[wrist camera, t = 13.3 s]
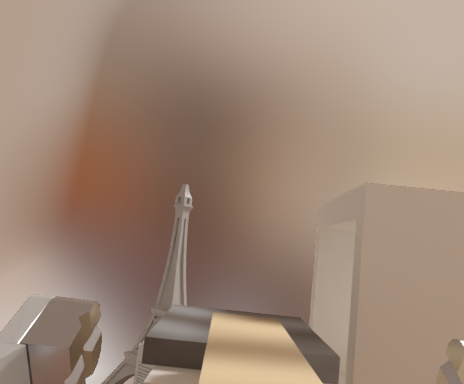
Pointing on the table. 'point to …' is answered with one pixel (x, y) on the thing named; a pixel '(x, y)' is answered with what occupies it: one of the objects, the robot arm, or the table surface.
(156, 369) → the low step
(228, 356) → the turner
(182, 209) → the eiffel tower
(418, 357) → the tall stand
